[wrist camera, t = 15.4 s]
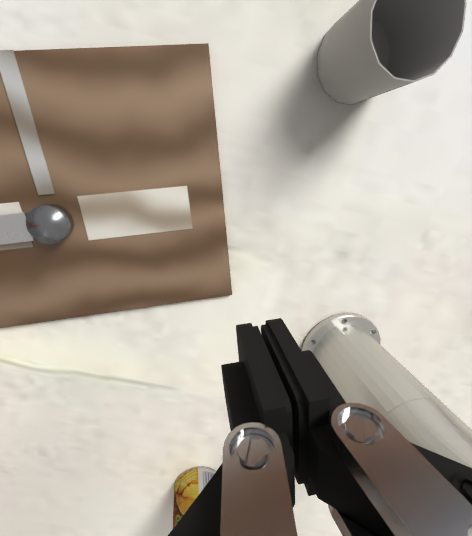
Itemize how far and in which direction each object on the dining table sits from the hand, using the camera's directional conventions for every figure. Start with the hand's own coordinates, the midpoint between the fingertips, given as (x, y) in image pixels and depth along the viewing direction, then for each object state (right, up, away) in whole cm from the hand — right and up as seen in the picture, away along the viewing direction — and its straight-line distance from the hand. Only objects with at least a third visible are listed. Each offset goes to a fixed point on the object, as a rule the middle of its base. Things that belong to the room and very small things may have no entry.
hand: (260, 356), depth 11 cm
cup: (+12, +26, +22) cm, 36 cm away
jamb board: (-21, +11, +22) cm, 32 cm away
